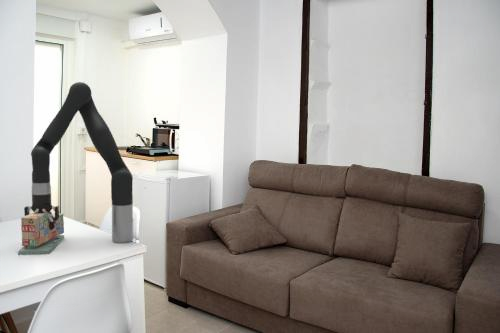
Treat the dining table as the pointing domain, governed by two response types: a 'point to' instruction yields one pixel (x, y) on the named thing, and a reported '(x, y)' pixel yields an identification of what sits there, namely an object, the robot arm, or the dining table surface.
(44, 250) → the baseplate
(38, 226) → the stack of blocks
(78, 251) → the dining table surface
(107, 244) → the dining table surface
